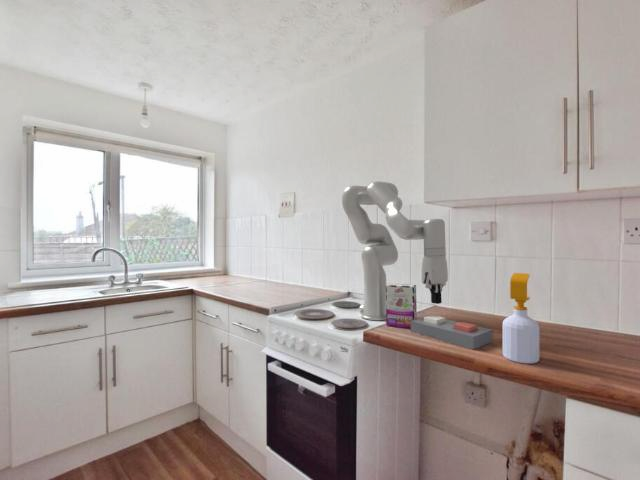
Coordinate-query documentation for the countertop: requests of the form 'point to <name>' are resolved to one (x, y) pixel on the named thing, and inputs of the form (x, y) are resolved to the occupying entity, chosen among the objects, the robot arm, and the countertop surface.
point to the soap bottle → (520, 326)
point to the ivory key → (434, 319)
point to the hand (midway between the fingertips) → (436, 302)
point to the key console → (452, 333)
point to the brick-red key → (465, 327)
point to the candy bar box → (400, 305)
